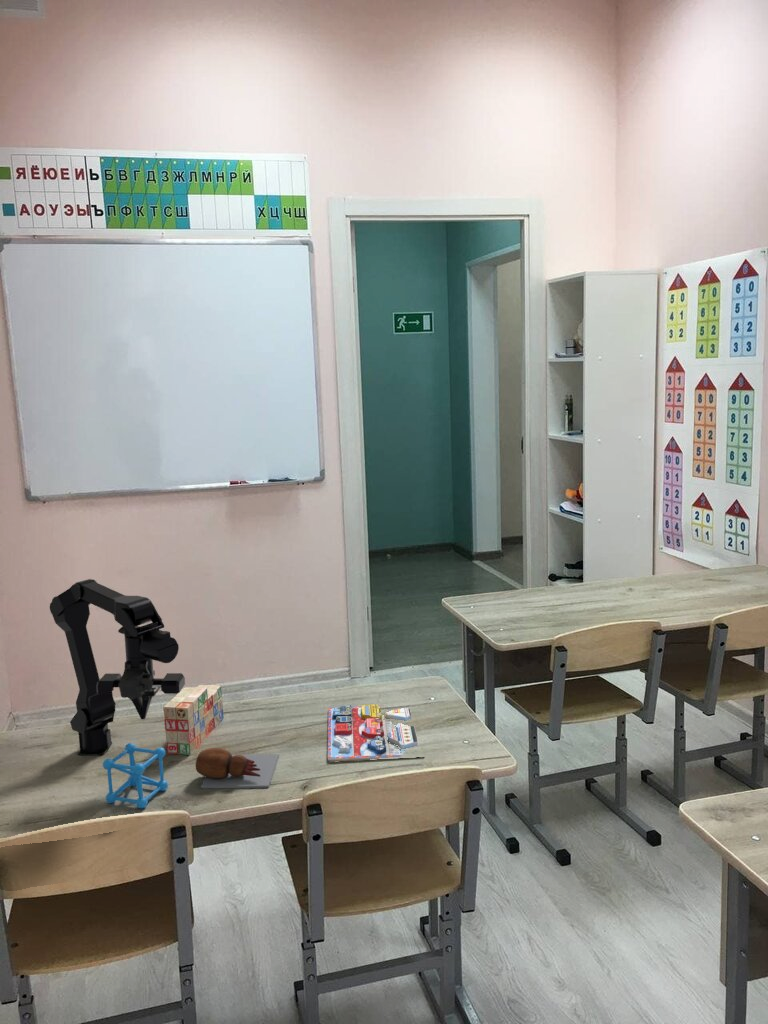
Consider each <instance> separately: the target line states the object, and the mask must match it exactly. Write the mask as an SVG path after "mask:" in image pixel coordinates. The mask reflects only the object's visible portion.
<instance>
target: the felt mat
mask: <svg viewBox="0 0 768 1024" xmlns="http://www.w3.org/2000/svg"><path fill="white" fill-rule="evenodd" d="M231 755H232V757H233V756H235V755H236V754H231ZM241 755H242V756H244V757H246V758H247V759H249V760H252V761H254V763H253V764H256V765H257V766H256V767H255V768H258V769H260V770H259V771H252V772H254V773H257V774H259V775H260V777H259V776H249V775H243V776H241V777H234V776H231V775H230V774H228V775H227V776H226V777H224V778H221V779H212V778H208V777H205V776H204V777H205V778H204V780H203V782H202V783H201V785H200V788H201V789H251V788H252V789H253V788H254V789H255V788H258V789H261V788H262V789H264V788H267V789H269V788H270V784H271V782H272V778H273V775H274V772H275V770H276V767H277V764H278V761H279V757H280V754H279V753H268V754H267V753H263V754H262V753H260V754H259V753H257V754H256V753H255V754H254V753H251V754H249V753H248V754H245V753H244V754H241Z"/></svg>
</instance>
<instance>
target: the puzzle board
mask: <svg viewBox="0 0 768 1024" xmlns="http://www.w3.org/2000/svg"><path fill="white" fill-rule="evenodd" d="M380 706H381V705H379V704H378V703H377V704H374V703H372V704H363V705H361V706H352V705H351V704H350V705H349V704H347V705H340V706H336V707H328V712H327V713H328V715H327V717H328V718H327V720H328V721H327V762H328V763H329V762H334V763H336V762H335V761H355V762H359V761H358V760H370V759H379V758H388V757H400V756H401V755H404V754H403V753H404V752H405V751H406V750H404V751H401V749H406V748H410V747H414V746H418V740H417V735H416V730H415V726H408V725H404V724H402V723H398V724H397V725H394V724H392V722H391V721H392V720H383V719H384V715H382V714H381V713H380V712H381V707H380ZM361 709H362V710H361ZM385 718H386V719H395V720H396V719H397V720H404V721H407V720H409V719H411V711H410V709H409V708H401V709H395V710H391V711H389V712H386V713H385ZM395 726H396V727H395ZM387 737H388V740H387ZM389 742H390V743H389ZM394 744H395V745H394ZM396 745H398V746H399V747H400V748H401V749H399V748H398V746H396ZM400 752H402V753H400Z"/></svg>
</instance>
